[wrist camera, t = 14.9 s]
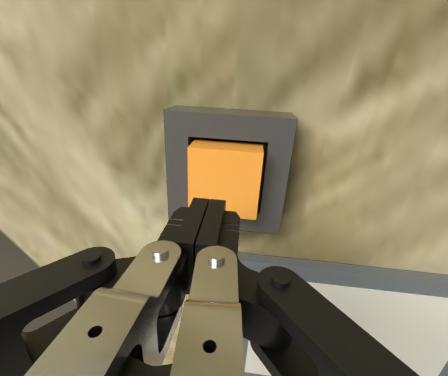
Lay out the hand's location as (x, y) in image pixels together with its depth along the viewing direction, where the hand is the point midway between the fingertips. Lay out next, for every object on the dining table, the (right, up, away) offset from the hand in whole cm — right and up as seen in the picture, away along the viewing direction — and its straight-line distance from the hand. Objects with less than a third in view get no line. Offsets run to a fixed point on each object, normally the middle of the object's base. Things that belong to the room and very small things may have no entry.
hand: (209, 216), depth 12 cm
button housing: (+1, +3, +7) cm, 8 cm away
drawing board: (+12, -13, +13) cm, 22 cm away
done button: (+1, +2, +5) cm, 6 cm away
